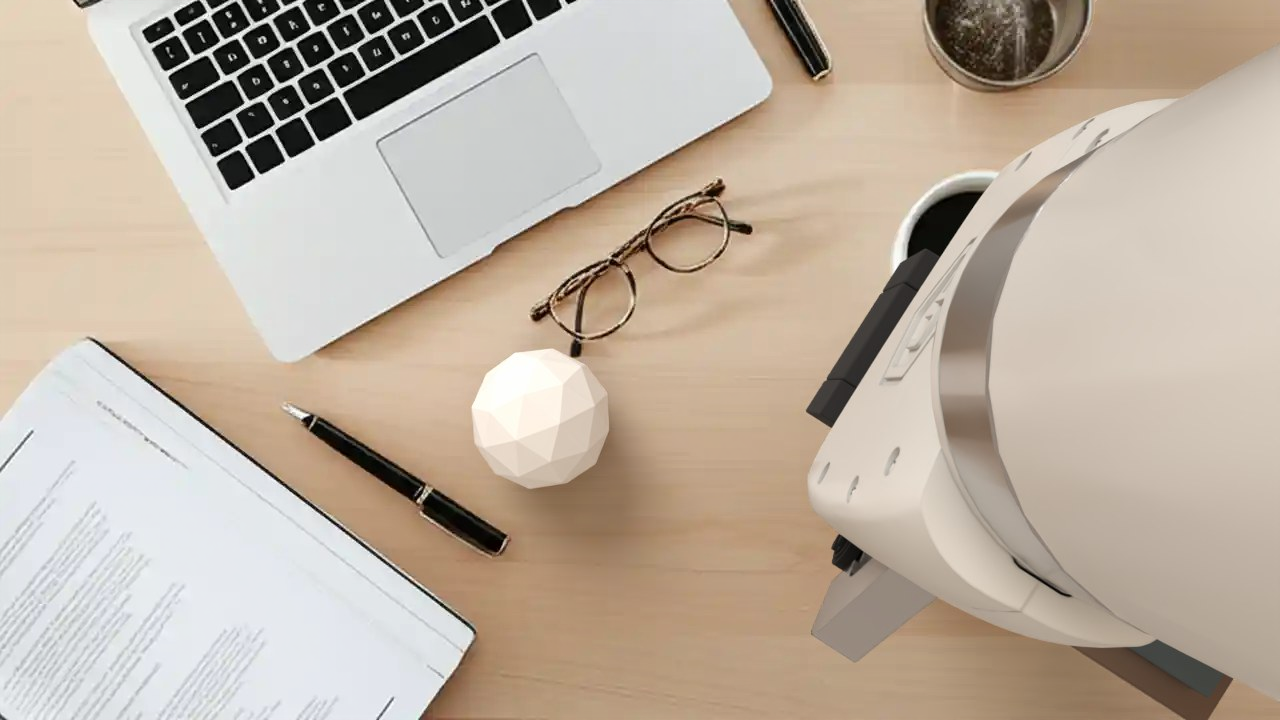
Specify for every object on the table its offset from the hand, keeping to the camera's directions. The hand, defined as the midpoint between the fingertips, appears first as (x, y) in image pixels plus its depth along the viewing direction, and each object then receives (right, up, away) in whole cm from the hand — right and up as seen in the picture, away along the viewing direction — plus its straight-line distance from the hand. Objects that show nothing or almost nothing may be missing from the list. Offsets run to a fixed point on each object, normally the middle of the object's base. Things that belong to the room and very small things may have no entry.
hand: (932, 384), depth 35 cm
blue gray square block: (+9, -6, +5) cm, 12 cm away
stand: (+10, -8, +33) cm, 35 cm away
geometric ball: (-14, -3, +34) cm, 37 cm away
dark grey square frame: (0, 0, +1) cm, 1 cm away
